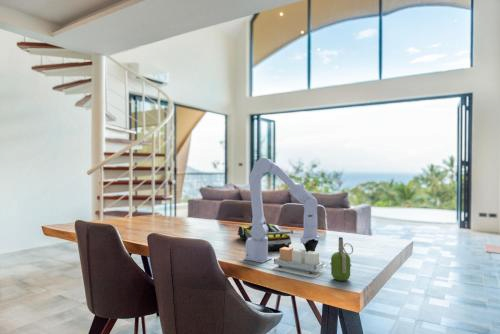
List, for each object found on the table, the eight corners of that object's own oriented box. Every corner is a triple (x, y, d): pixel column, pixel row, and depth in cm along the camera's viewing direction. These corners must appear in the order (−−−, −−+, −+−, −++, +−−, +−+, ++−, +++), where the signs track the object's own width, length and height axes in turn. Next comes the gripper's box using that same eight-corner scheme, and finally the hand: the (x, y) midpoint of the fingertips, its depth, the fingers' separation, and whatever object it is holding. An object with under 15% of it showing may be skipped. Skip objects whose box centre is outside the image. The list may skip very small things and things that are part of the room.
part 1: (291, 263, 126) (291, 250, 126) (296, 261, 129) (296, 248, 129) (301, 265, 123) (301, 252, 124) (305, 263, 127) (305, 250, 127)
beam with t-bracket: (273, 266, 129) (273, 258, 129) (290, 259, 140) (290, 252, 140) (315, 275, 118) (315, 266, 118) (330, 266, 129) (330, 258, 130)
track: (269, 268, 127) (269, 268, 127) (291, 258, 142) (291, 258, 142) (314, 278, 116) (314, 277, 116) (333, 266, 131) (333, 266, 131)
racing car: (261, 234, 193) (262, 214, 193) (295, 252, 158) (295, 228, 157) (235, 236, 187) (235, 215, 187) (263, 255, 151) (264, 230, 151)
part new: (279, 261, 129) (279, 248, 129) (284, 259, 132) (284, 246, 132) (288, 263, 127) (288, 250, 127) (293, 260, 130) (293, 248, 130)
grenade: (347, 276, 118) (347, 235, 119) (355, 284, 110) (355, 240, 110) (327, 276, 118) (327, 235, 118) (334, 284, 110) (334, 240, 110)
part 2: (304, 266, 123) (304, 252, 123) (309, 263, 126) (309, 250, 126) (314, 268, 120) (314, 254, 120) (318, 265, 124) (318, 252, 124)
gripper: (312, 228, 128) (311, 263, 127) (326, 223, 139) (326, 255, 139) (295, 226, 132) (295, 260, 131) (311, 222, 143) (310, 253, 143)
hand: (310, 257), depth 136 cm, fingers closed
